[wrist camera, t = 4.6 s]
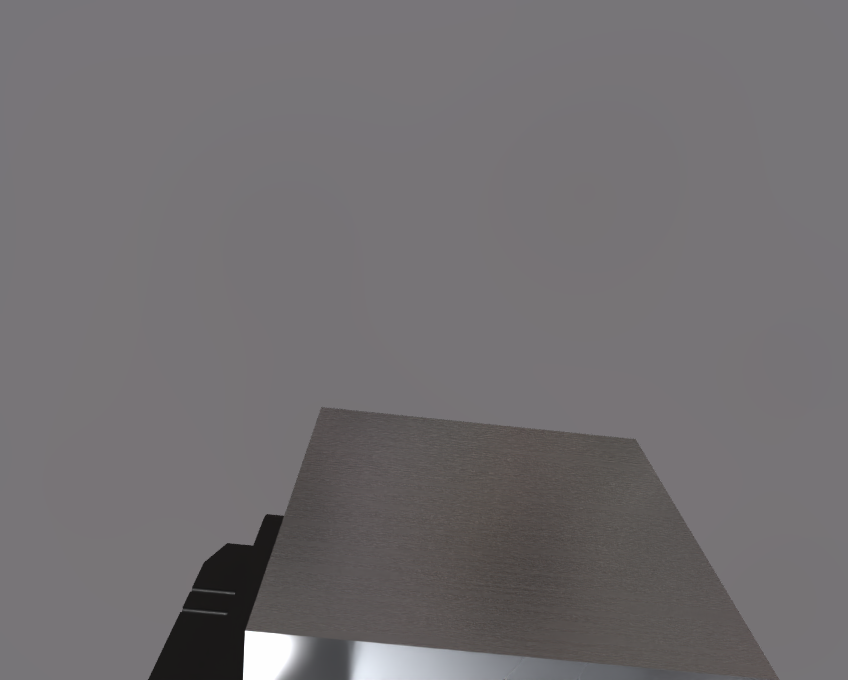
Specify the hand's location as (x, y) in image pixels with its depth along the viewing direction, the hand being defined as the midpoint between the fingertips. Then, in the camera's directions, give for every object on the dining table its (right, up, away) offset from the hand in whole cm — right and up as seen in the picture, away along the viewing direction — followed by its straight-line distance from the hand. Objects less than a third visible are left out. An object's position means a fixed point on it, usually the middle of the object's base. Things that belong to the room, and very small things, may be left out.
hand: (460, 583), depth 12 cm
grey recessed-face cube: (0, 0, +1) cm, 1 cm away
